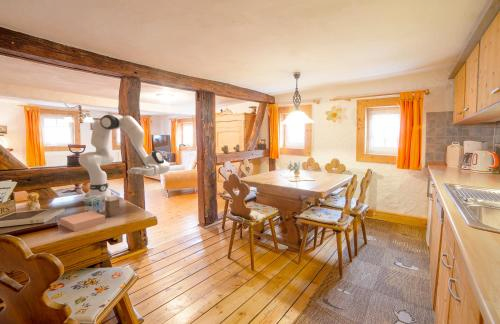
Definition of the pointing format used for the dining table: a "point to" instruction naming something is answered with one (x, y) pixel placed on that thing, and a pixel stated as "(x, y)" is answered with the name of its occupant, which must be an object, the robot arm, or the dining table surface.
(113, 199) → the cargo block
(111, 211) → the walnut crate
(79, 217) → the dock
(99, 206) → the light bulb box
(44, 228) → the dining table surface
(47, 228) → the dining table surface
